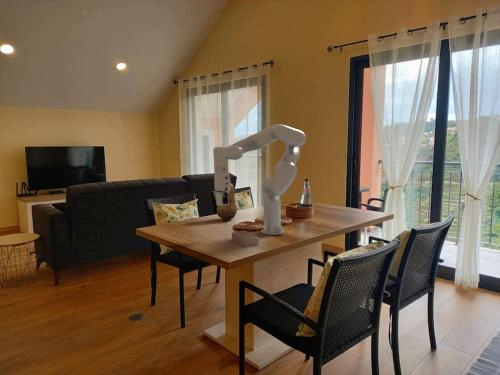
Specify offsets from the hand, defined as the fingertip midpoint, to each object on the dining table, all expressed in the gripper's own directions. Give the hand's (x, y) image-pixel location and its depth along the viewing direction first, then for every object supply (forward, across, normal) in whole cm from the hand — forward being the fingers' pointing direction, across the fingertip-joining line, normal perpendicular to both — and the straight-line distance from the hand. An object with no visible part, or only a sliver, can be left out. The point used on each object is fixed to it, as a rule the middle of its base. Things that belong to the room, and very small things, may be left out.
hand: (222, 203), depth 203 cm
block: (+1, 0, 0) cm, 1 cm away
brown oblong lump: (+20, +39, -26) cm, 51 cm away
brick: (+20, -16, -3) cm, 25 cm away
